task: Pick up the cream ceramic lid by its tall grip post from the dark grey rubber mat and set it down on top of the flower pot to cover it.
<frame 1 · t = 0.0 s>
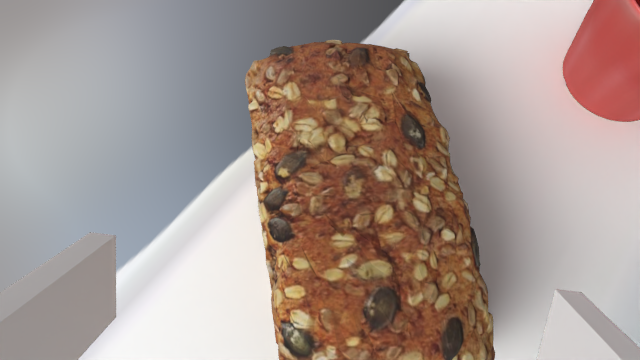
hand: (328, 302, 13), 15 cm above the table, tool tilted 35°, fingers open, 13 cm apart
flower pot: (608, 80, 35), on the table
bread: (349, 238, 30), on the table
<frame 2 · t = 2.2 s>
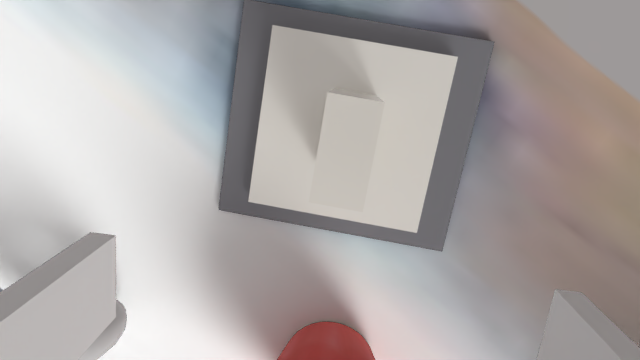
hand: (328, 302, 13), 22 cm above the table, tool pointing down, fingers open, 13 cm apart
flower pot: (328, 359, 39), on the table
mat: (347, 130, 34), on the table
lid: (347, 131, 34), point 1 cm above the table, touching mat
donut: (95, 304, 40), on the table
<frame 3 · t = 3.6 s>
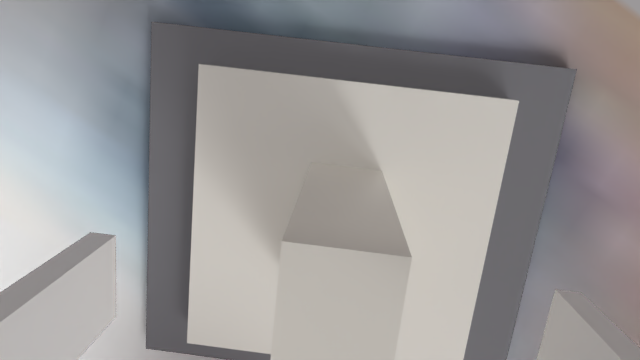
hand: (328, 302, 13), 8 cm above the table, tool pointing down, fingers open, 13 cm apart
mat: (338, 219, 21), on the table
lid: (338, 223, 21), point 1 cm above the table, touching mat
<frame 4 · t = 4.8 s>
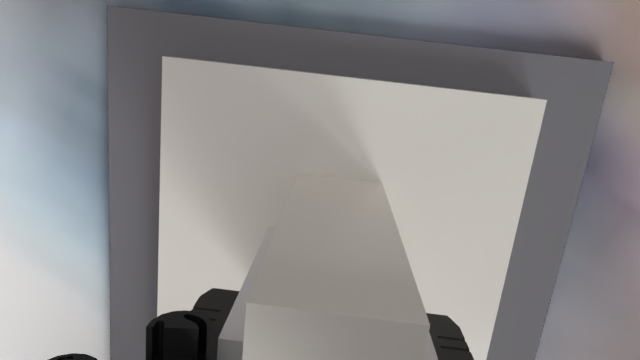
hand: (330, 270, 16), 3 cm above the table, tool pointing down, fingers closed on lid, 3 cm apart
mat: (331, 237, 19), on the table
lid: (331, 243, 18), point 1 cm above the table, touching gripper, mat
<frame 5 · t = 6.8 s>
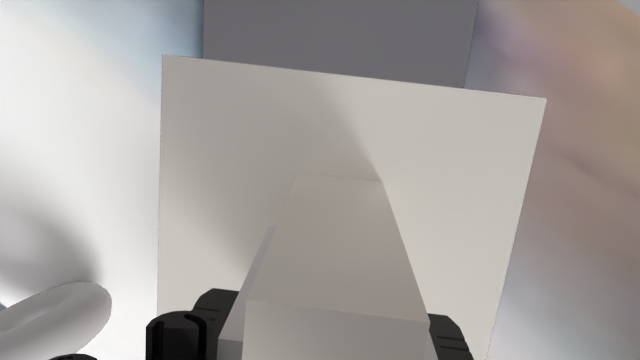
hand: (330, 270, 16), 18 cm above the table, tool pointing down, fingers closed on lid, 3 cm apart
mat: (331, 79, 32), on the table
lid: (331, 242, 18), point 16 cm above the table, touching gripper
donut: (79, 293, 37), on the table
when the fingers open (14 cm above the table, at t = 8.7 s): lid drops 1 cm, resting on flower pot.
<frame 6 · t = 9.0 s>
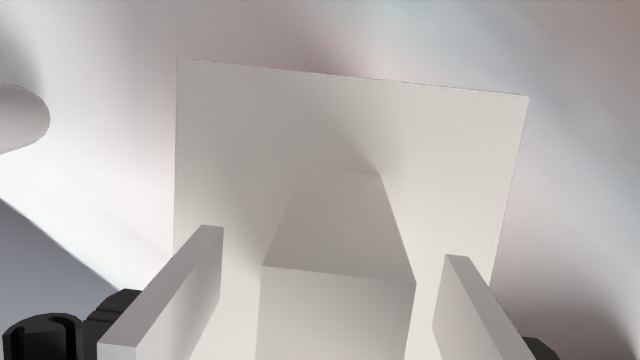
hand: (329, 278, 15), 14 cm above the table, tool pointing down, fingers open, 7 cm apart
lid: (333, 231, 19), point 10 cm above the table, touching flower pot
donut: (14, 122, 29), on the table
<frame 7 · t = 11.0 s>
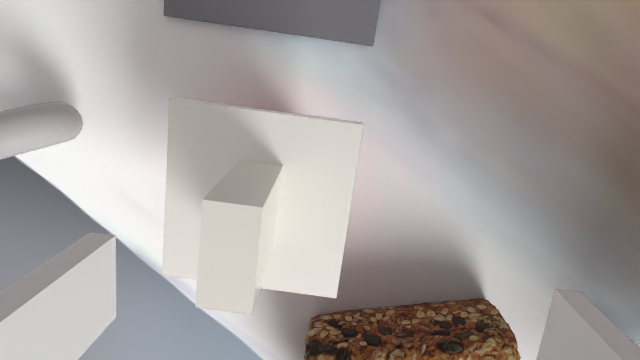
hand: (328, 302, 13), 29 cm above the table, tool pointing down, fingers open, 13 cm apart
lid: (260, 198, 33), point 10 cm above the table, touching flower pot
bread: (401, 342, 47), on the table
donut: (54, 124, 42), on the table
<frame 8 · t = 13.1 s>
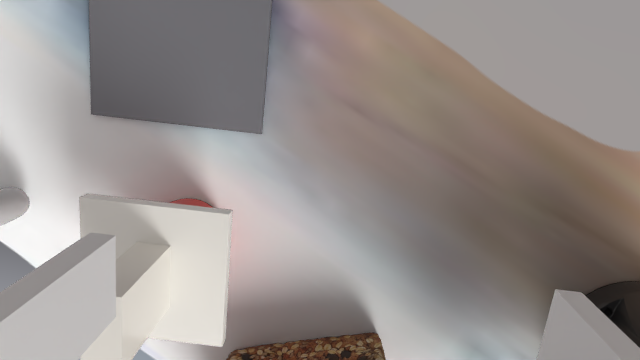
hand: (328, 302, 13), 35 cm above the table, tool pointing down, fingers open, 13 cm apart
mat: (180, 44, 46), on the table
lid: (158, 269, 41), point 10 cm above the table, touching flower pot
donut: (10, 200, 51), on the table
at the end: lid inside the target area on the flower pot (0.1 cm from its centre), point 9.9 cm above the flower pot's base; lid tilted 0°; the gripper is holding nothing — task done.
